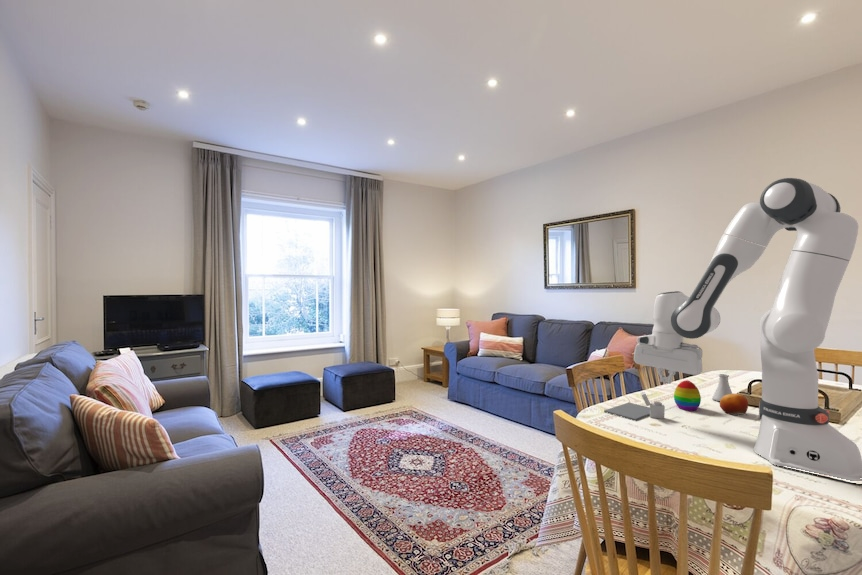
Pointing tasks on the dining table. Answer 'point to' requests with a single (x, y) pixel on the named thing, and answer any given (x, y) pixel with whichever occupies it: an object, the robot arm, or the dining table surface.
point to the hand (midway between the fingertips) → (665, 382)
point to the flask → (722, 387)
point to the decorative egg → (687, 396)
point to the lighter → (654, 408)
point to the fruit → (734, 404)
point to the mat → (630, 411)
